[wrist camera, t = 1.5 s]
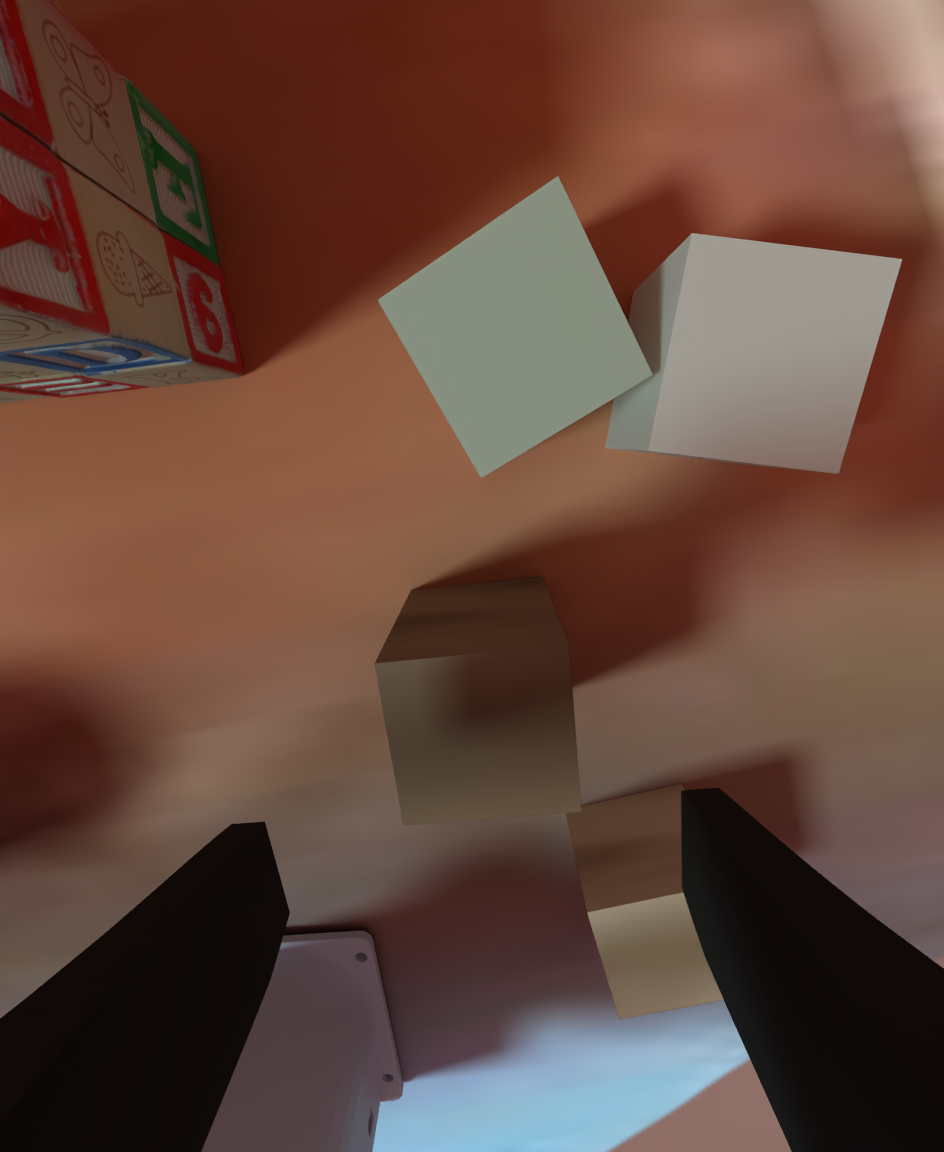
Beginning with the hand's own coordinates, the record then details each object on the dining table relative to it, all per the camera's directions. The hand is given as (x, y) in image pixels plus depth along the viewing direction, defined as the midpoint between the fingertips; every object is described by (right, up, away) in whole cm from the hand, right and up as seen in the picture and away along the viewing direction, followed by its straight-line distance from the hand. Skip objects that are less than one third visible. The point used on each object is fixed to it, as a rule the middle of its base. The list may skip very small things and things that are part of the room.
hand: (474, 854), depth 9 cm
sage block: (+1, +11, +7) cm, 13 cm away
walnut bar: (0, +2, +9) cm, 10 cm away
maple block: (+6, -6, +11) cm, 14 cm away
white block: (+7, +11, +7) cm, 14 cm away
